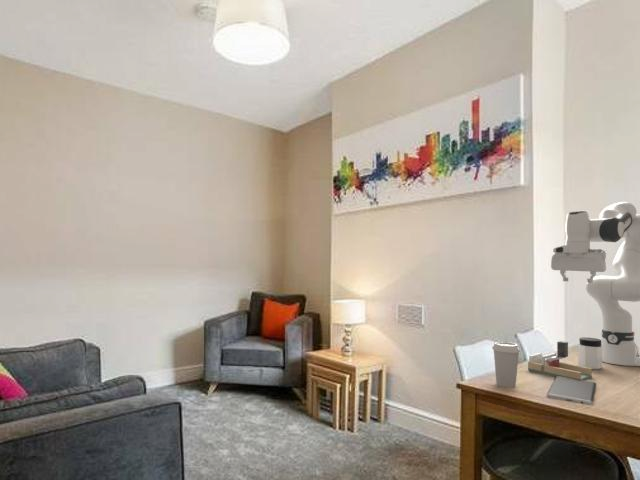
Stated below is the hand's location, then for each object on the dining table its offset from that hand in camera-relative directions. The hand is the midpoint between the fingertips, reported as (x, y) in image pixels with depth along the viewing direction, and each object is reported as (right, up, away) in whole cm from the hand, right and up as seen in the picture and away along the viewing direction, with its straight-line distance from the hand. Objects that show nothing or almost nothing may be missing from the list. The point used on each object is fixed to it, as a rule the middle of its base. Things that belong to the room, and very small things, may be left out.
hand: (577, 282), depth 183 cm
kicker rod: (-10, -35, -2) cm, 37 cm away
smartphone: (-18, -37, -27) cm, 49 cm away
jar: (+10, -38, +7) cm, 40 cm away
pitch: (-11, -37, -5) cm, 39 cm away
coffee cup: (-39, -36, -22) cm, 57 cm away
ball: (-14, -34, -1) cm, 36 cm away
